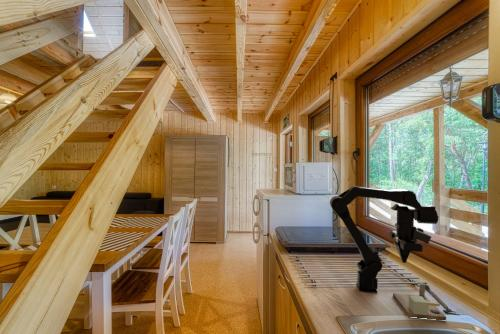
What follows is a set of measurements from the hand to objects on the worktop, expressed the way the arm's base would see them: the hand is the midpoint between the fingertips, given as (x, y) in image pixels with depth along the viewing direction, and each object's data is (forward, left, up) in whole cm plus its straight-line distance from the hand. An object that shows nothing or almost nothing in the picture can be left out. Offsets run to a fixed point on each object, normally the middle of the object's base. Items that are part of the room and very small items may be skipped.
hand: (404, 262), depth 101 cm
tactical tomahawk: (+12, -3, -12) cm, 17 cm away
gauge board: (0, -11, -12) cm, 16 cm away
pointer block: (0, -16, -10) cm, 19 cm away
